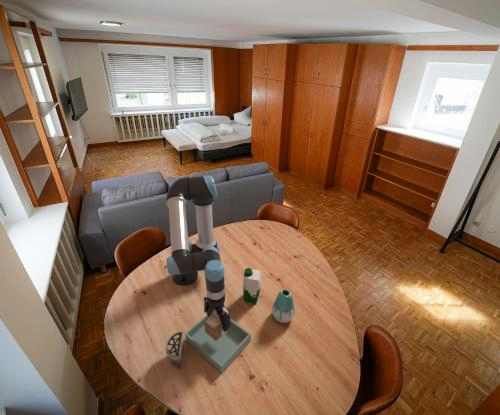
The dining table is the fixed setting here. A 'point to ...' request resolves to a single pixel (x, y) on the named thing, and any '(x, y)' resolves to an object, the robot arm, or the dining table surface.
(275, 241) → the dining table surface
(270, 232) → the dining table surface
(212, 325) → the walnut block
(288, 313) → the vase
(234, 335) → the tote
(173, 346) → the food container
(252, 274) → the milk carton
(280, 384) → the dining table surface
